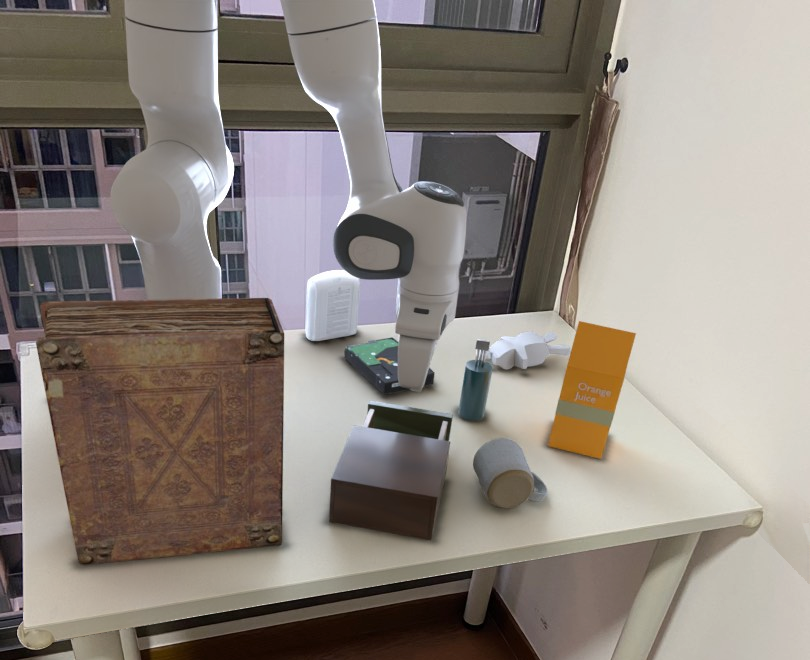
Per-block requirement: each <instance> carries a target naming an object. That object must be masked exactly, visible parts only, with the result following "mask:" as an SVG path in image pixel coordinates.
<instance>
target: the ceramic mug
mask: <svg viewBox="0 0 810 660" xmlns="http://www.w3.org/2000/svg"><path fill="white" fill-rule="evenodd" d="M472 467H473V471H474V473H475V475H476V478H477V480H478V482H479V484H480V486H481V488H482V491H483V493H484V496H485V498H487V500H488V501H489V502H490V503H491V504H492V505H493V506H495V507H498V508H500V509H513V508H516V507H519V506H521V505H523V504H524V503H526V501H528V500H529V501H532V502H538V503H539V502H541V501H542V500H543V499H544V498H545V496H546V495H548V488H547V485H546V484H545V482H544V481H543V480H542V479H541V477H540V476H538V475H537V474H536V473H534V472H533V471H532V470H531V468H530V466H529V463H528V460H527V458H526V456H525V453H524V451H523V449H522V447H521V446H520V444H519V443H518V442H517V441H515V440H513V439H511V438H507V437H498V438H494V439H491V440H488V441H487V442H485V443H483V445H481V446H480V447H479V448H478V449H477V450H476V452H475V454H474V457H473V459H472ZM534 489H536V490H537V491H535V490H534Z"/></svg>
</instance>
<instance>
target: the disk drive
mask: <svg viewBox="0 0 810 660" xmlns="http://www.w3.org/2000/svg"><path fill="white" fill-rule="evenodd" d="M344 359H346V361H347V362H348V363H349V364H350V365H351V366H352V367H353V368H355V369H356V370H357V371H358V372H359V373H360V374H361V375H362V376H363V377H364V378H366V380H367V381H368V382H370V384H372V385H373V386H374V387H375V388H376V389H377V390H378V391H379V392H381V393H382V394H383V395H389V394H395V393H399V392H404V391H411V389H410V388H404V387H401V386H400V385H399V382H398V340H397V339H396V338H394V337H386V338H381V339H376V340H369V341H368V342H363V343H359V344H352V345H351V344H348V345H347V346H346V348H344ZM435 375H436V374H435V371H434V370H433V369H432V368H431V367H429V370H428V373H427V377H426V380H425V384H424V387H429V386H430V385H434V381H435Z"/></svg>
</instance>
